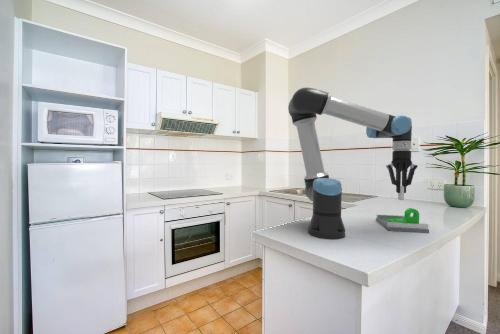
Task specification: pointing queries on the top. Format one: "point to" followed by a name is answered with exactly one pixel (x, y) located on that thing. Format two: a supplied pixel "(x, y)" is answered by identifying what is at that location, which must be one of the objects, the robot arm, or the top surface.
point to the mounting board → (384, 224)
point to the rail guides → (401, 225)
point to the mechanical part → (408, 217)
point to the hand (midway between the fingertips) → (400, 199)
